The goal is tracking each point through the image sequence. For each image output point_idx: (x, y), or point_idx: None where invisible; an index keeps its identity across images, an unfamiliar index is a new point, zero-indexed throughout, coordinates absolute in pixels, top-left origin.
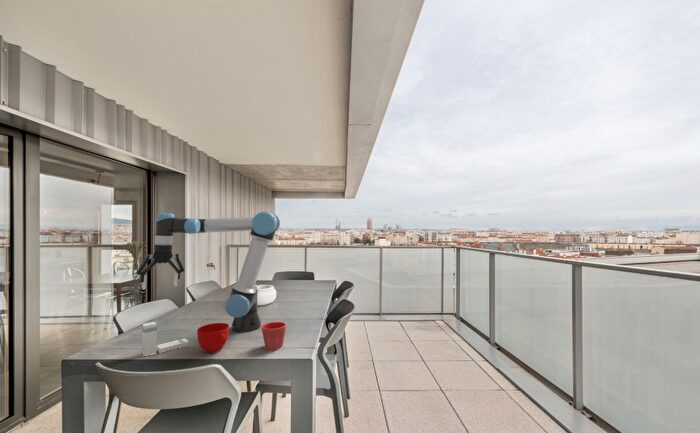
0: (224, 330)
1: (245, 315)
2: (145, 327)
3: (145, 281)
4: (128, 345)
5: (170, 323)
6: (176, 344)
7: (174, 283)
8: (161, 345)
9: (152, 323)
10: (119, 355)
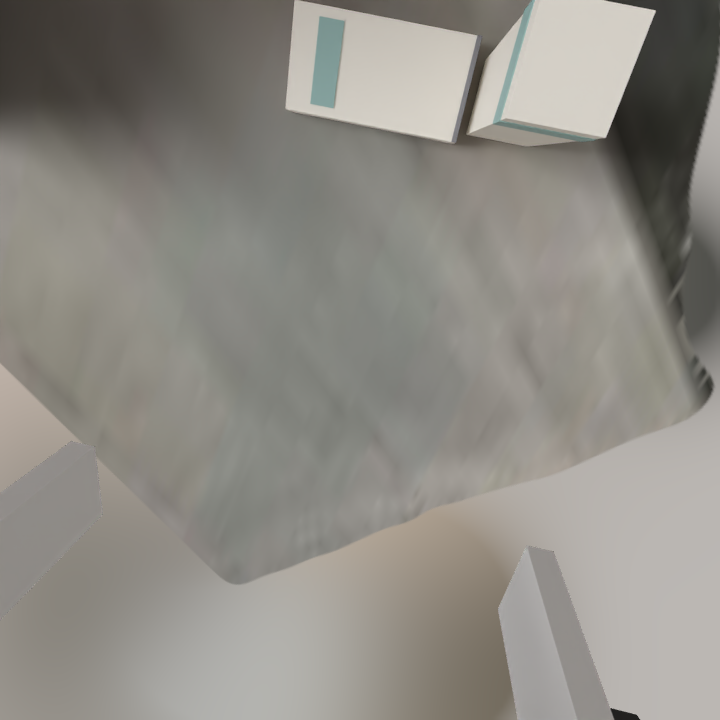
0: None
1: None
2: (640, 13)
3: (580, 695)
4: (485, 358)
5: (228, 490)
6: (373, 22)
7: (71, 525)
8: (436, 107)
9: (553, 58)
10: (588, 247)
